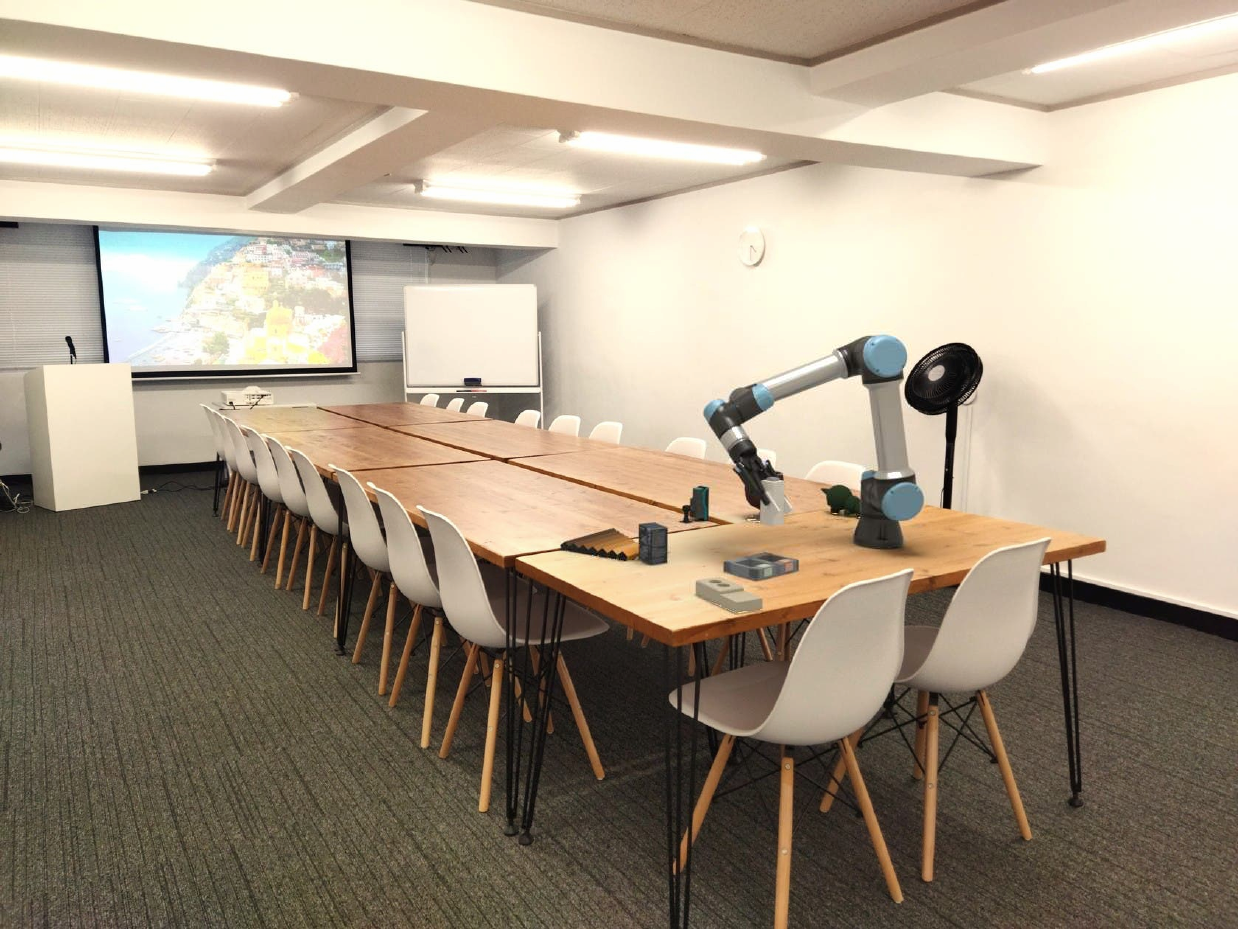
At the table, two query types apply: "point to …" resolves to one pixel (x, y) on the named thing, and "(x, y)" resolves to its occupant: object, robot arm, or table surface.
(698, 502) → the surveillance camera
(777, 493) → the plug
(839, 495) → the toy figurine
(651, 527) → the box
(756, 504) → the mate gourd
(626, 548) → the pan flute
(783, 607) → the table surface
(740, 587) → the electrical outlet
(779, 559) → the socket block
